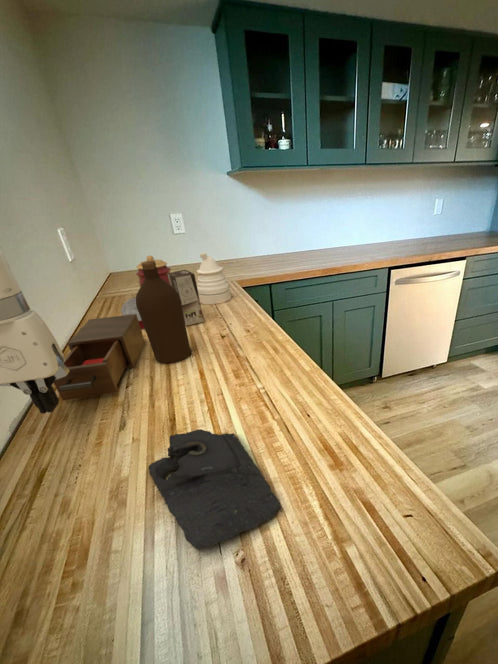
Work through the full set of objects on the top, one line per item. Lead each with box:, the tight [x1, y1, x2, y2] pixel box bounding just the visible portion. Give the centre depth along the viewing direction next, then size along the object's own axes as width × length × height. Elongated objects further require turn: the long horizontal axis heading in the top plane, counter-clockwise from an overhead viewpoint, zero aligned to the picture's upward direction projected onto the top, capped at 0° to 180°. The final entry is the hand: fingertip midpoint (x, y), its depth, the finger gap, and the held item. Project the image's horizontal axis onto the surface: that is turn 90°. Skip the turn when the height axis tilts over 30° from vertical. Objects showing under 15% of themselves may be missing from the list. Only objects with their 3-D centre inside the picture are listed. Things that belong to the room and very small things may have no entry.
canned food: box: [120, 296, 145, 330], centre depth 114 cm, size 11×10×10 cm
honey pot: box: [196, 252, 232, 305], centre depth 131 cm, size 13×13×18 cm
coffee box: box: [167, 269, 205, 327], centre depth 112 cm, size 9×6×16 cm
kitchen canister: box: [135, 255, 172, 288], centre depth 134 cm, size 13×13×18 cm
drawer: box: [53, 340, 128, 401], centre depth 78 cm, size 20×11×7 cm, turn 12°
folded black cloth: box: [148, 429, 282, 551], centre depth 51 cm, size 15×22×5 cm
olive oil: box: [135, 260, 192, 364], centre depth 86 cm, size 11×11×25 cm
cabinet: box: [67, 314, 146, 370], centre depth 91 cm, size 17×13×9 cm
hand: (50, 408), depth 59 cm, fingers closed
